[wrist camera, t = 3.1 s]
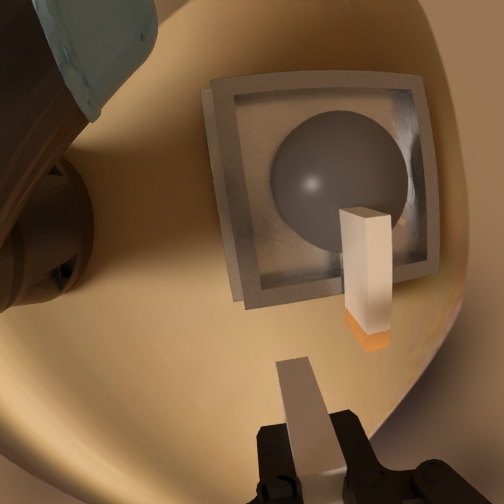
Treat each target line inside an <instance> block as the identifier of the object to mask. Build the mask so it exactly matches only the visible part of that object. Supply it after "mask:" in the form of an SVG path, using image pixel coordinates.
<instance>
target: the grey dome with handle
mask: <svg viewBox="0 0 504 504" xmlns="http://www.w3.org/2000/svg"><path fill="white" fill-rule="evenodd" d="M271 184H272V192H273V197H274V200H275V203H276V206H277V208H278V210H279V212H280V214H281V215H282V217H283V218H284V220H285V221H286V222H287V224H288V225H289V226H290V227H291V228H292V229H293V230H294V231H295V232H296V233H297V234H298V235H299V236H300V237H302V238H303V239H304V240H305V241H307V242H308V243H310V244H311V245H314V246H316V247H318V248H320V249H323V250H326V251H330V252H335V253H343V267H344V287H345V321H346V324H347V325H348V327H349V328H350V329H351V331H352V332H353V334H354V335H355V337H356V338H357V339H358V341H359V342H360V344H361V345H362V347H363V348H364V350H365V351H366V352H367V353H369V352H373V351H376V350H380V349H384V348H388V347H389V342H390V328H391V309H392V232H391V230H392V229H393V228H394V227H395V225H396V224H397V222H398V220H399V219H400V217H401V215H402V213H403V210H404V207H405V204H406V200H407V195H408V172H407V167H406V163H405V159H404V157H403V154H402V152H401V150H400V148H399V146H398V144H397V143H396V141H395V140H394V139H393V137H392V136H391V135H390V134H389V132H388V131H387V130H386V129H385V128H383V127H382V126H381V125H380V124H379V123H377V122H376V121H374V120H373V119H371V118H369V117H367V116H365V115H362V114H359V113H356V112H351V111H343V110H336V111H327V112H324V113H320V114H317V115H315V116H313V117H310V118H309V119H307V120H306V121H304V122H303V123H301V124H300V125H299V126H298V127H296V128H295V129H294V130H293V131H292V132H291V133H290V134H289V135H288V136H287V137H286V138H285V139H284V141H283V142H282V144H281V145H280V147H279V149H278V151H277V153H276V156H275V159H274V162H273V167H272V175H271Z"/></svg>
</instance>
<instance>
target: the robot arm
mask: <svg viewBox="0 0 504 504" xmlns="http://www.w3.org/2000/svg"><path fill="white" fill-rule="evenodd" d="M157 35H158V17H157V11H156V7H155V4H154V0H0V313H2V312H3V311H4V310H6V309H7V308H9V307H13V306H21V305H28V304H36V303H43V302H47V301H50V300H52V299H55V298H57V297H58V296H60V295H61V294H63V293H64V292H65V291H67V290H68V289H69V288H70V287H72V286H73V285H74V284H75V283H76V282H77V281H78V279H79V278H80V277H81V275H82V274H83V272H84V270H85V268H86V266H87V263H88V261H89V258H90V254H91V250H92V244H93V234H94V226H93V214H92V208H91V203H90V200H89V196H88V193H87V190H86V188H85V186H84V183H83V181H82V180H81V178H80V176H79V174H78V173H77V171H76V170H75V169H74V168H73V166H72V165H71V164H70V163H69V162H68V161H67V160H66V159H64V158H63V157H62V156H61V155H62V154H63V153H64V152H65V150H66V149H67V148H68V147H69V145H70V144H71V143H72V142H73V141H74V140H75V138H76V137H77V136H78V135H79V134H80V133H81V131H82V130H83V129H84V128H85V127H86V126H87V125H88V124H89V122H91V123H93V122H95V121H96V120H97V119H98V117H99V116H100V115H101V109H102V107H103V106H104V105H105V104H106V103H107V102H108V100H109V99H110V98H111V97H112V96H113V95H114V94H115V92H116V91H117V90H118V89H119V88H120V87H121V86H122V85H123V84H124V83H125V82H126V80H127V79H128V78H129V77H130V76H131V75H132V74H133V73H134V72H135V71H136V70H137V69H138V68H139V67H140V66H141V65H142V64H143V63H144V62H145V61H146V60H147V58H148V57H149V55H150V54H151V52H152V50H153V48H154V45H155V42H156V39H157ZM276 370H277V377H278V385H279V393H280V400H281V407H282V412H283V418H284V423H283V424H276V425H269V426H262V427H261V428H260V430H259V432H258V434H257V436H256V438H257V451H258V465H259V478H260V482H259V483H258V484H257V489H256V492H257V496H256V497H255V498H254V499H253V500H252V501H250V502H249V503H247V504H340V503H342V499H343V502H344V504H492V503H491V502H490V501H488V500H487V499H486V498H485V497H484V496H483V495H482V494H480V493H479V492H478V491H477V490H476V489H475V488H474V487H472V486H471V485H470V484H469V483H468V482H467V481H466V480H464V479H463V478H462V477H461V476H460V475H459V474H458V473H457V472H456V471H455V470H453V469H452V468H451V467H450V466H449V465H448V464H447V463H445V462H443V461H442V460H437V459H432V460H427V461H425V462H422V463H421V464H420V465H419V466H418V467H417V468H416V469H414V470H403V471H393V470H389V469H387V468H385V467H383V466H382V465H381V464H380V463H379V461H378V460H377V458H376V456H375V453H374V451H373V449H372V447H371V444H370V442H369V440H368V438H367V436H366V435H365V431H364V429H363V427H362V425H361V423H360V421H359V418H358V416H357V415H355V414H354V413H353V412H352V411H350V410H349V409H348V410H344V411H340V412H336V413H331V414H328V411H327V408H326V406H325V403H324V400H323V397H322V395H321V392H320V389H319V386H318V384H317V381H316V378H315V375H314V373H313V370H312V367H311V364H310V362H309V359H308V356H307V357H302V358H296V359H290V360H284V361H278V362H276Z"/></svg>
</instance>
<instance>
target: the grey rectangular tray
mask: <svg viewBox="0 0 504 504" xmlns="http://www.w3.org/2000/svg"><path fill="white" fill-rule="evenodd" d="M210 82H211V88H208V89H202V90H200V93H201V100H202V108H203V115H204V122H205V129H206V136H207V143H208V150H209V157H210V164H211V170H212V177H213V183H214V190H215V196H216V203H217V209H218V215H219V221H220V227H221V234H222V240H223V246H224V251H225V257H226V263H227V269H228V275H229V280H230V286H231V292H232V297H233V302H237V301H244V304H245V310H249V309H256V308H263V307H269V306H275V305H282V304H288V303H294V302H300V301H306V300H311V299H317V298H323V297H328V296H334V295H339V294H344V293H345V287H344V267H343V253H335V252H330V251H326V250H323V249H320V248H318V247H316V246H314V245H311V244H310V243H308V242H307V241H305V240H304V239H303V238H302V237H300V236H299V235H298V234H297V233H296V232H295V231H294V230H293V229H292V228H291V227H290V226H289V225H288V224H287V222H286V221H285V220H284V218H283V217H282V215H281V214H280V212H279V210H278V208H277V206H276V203H275V200H274V197H273V192H272V184H271V175H272V167H273V162H274V159H275V156H276V153H277V151H278V149H279V147H280V145H281V144H282V142H283V141H284V139H285V138H286V137H287V136H288V135H289V134H290V133H291V132H292V131H293V130H294V129H295V128H296V127H298V126H299V125H300V124H301V123H303V122H304V121H306V120H307V119H309V118H310V117H313V116H315V115H317V114H320V113H324V112H327V111H336V110H343V111H351V112H356V113H359V114H362V115H365V116H367V117H369V118H371V119H373V120H374V121H376V122H377V123H379V124H380V125H381V126H382V127H383V128H385V129H386V130H387V131H388V132H389V134H390V135H391V136H392V137H393V139H394V140H395V141H396V143H397V144H398V146H399V148H400V150H401V152H402V154H403V157H404V159H405V163H406V167H407V172H408V195H407V200H406V204H405V207H404V210H403V213H402V215H401V217H400V219H399V220H398V222H397V224H396V225H395V227H394V228H393V229H392V230H391V232H392V284H393V283H398V282H403V281H407V280H411V279H416V278H420V277H425V276H429V275H433V274H437V273H439V260H440V210H439V190H438V176H437V165H436V156H435V147H434V140H433V133H432V126H431V120H430V114H429V109H428V103H427V98H426V93H425V89H424V84H423V80H422V76H421V75H413V74H404V73H393V72H379V71H359V70H309V71H288V72H274V73H263V74H253V75H245V76H237V77H229V78H222V79H216V80H210Z"/></svg>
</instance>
